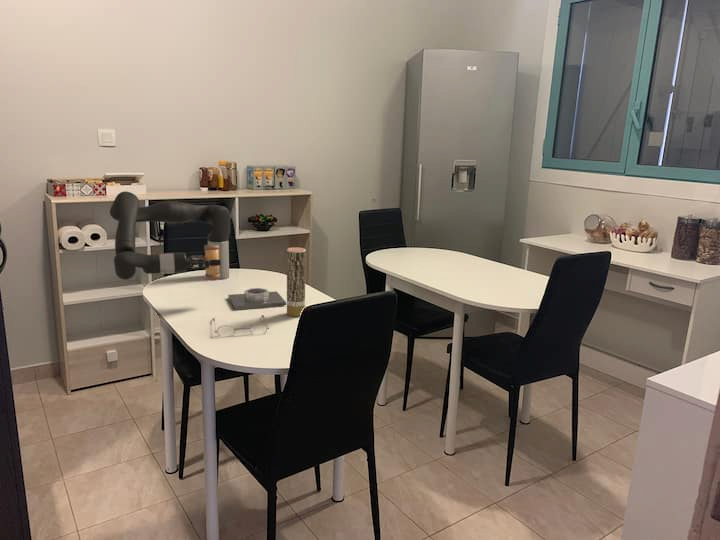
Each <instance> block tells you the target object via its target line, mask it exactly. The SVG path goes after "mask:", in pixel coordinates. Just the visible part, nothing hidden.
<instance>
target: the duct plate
mask: <svg viewBox="0 0 720 540" xmlns="http://www.w3.org/2000/svg"><path fill="white" fill-rule="evenodd" d="M227 297H228V298H227V299H228V300H229V302H230V304H231V305H232V307H233V310H234V309H235V310H234V311H238V310H239V309H240V311H241V309H242V310H252V308H254V309H262V308H261V307H267V308H275V307H274V306H279V307H285V306H284V305H286V306H287V301H286V300H285V299H284V298H283V297H282V295H281V294H280V293H279V292H278V291H276V290H275V291H269V290H268V289H267V288H262V287H256V288H255V287H254V288H248V289H246V290H244V293H236V294H228V295H227Z"/></svg>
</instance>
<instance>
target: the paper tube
mask: <svg viewBox="0 0 720 540" xmlns="http://www.w3.org/2000/svg"><path fill="white" fill-rule="evenodd" d="M306 253H307V252H306V248H304V247H295V246H294V247H288V248H286V314H287V315H288V316H290V317H301V316H300V313H301V311H302V309H303V308H304V307H305V308H306V258H307V257H306V256H307V255H306Z"/></svg>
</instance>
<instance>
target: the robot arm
mask: <svg viewBox="0 0 720 540" xmlns="http://www.w3.org/2000/svg"><path fill="white" fill-rule="evenodd" d="M140 203H141V202H140V199H139V198H138V196H137V195H136V194H134V193H132V192H131V191H127V190H126V191H121V192H120V193H118V194H117V196H116V197H115V199H114V201H113V202H112V204H111V206H110V208H109V209H110V210H109V215H110V216H111V217H112V219H114V220H115V221H118V223H117V227H116V232H115V237H114V250H115V256H114V258H113V263H114V272H115V274H116V276H117V277H118V278H120V279H121V280H130V279H131V278H133V277H134V276H135V275H136V272H137V271H136V270H137V269H136V268H140V269H142V270H143V273H145V274H146V275H147V274H149V275H152V274H153V275H154V274H155V275H156V274H181V273H183V274H184V273H186V272H187V270H188V268H191V269H193V270H202V269H206V268H209V267H210V266H219V273H220V279H219V280H223V279H227V278H228V279H229V278H230V252H229V249H230V248H229V247H230V246H229V237H230V234H231V213H230V210H229V209H228V208H227V207H226V206H224V205H223V206H222V205H219V204H192V203H188V202H183V201H176V200H175V201H174V200H163V201H159V202H156V203H154V204H150V205H147V206H141V207H140V205H141V204H140ZM147 222H151V223H171V224H185V223H191V222H199V223H203V224H209V225H210V226H211V228H212V230H211V232H210V233H208V234H207V245H209V244H216V245H219V259H218V260H205V254H200V255H199V254H196V255H195V254H190V255H189V256H188V257H187V254H186V253H185V252H166V253H160V254H159V253H158V254H157V253H156V254H145V253H141V252H140V253H139V252H136V226H137V223H147ZM205 263H206V264H205Z"/></svg>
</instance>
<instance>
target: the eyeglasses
mask: <svg viewBox="0 0 720 540" xmlns="http://www.w3.org/2000/svg"><path fill="white" fill-rule="evenodd" d="M261 317H262V318H263V320H264V322H265V324H264V323H262V322H261V323H257V325H263V326H265V331H264V332H265V333H267V331H268V330H270V327H269V325H267V321H266V319H265V316H264V314H262V315H261ZM213 322H214V325H216V322H215V318H214V317H213ZM255 325H256V323H253V324H252V325H251V326H250V327H237V328H235V327H234V326H233V325H224V327H231V328H233V330H234V331H233V333H232V334H233V335H234V334H235V332H236V331H238V330H249V332H250V334H252V333H253V332H251V327H252V326H255ZM222 327H223V325H221V326H219V327H218V328H214V333H216V334H217V335H218V336H219V335H220V334H219V329H220V328H222ZM216 329H217V330H216Z"/></svg>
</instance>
